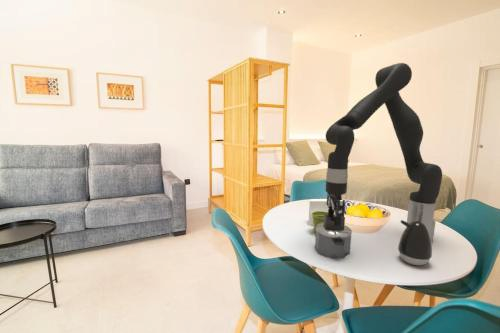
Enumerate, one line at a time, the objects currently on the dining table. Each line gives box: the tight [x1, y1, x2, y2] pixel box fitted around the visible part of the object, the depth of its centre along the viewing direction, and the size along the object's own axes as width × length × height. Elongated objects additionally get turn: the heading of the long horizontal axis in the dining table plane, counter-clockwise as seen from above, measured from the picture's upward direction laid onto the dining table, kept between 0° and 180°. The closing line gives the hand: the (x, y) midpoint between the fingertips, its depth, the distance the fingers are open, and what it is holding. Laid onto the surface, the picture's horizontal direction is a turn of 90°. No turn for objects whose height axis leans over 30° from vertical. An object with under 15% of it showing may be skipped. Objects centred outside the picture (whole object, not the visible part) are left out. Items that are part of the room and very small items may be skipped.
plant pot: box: [312, 211, 328, 234], centre depth 118 cm, size 9×9×9 cm
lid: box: [316, 214, 352, 238], centre depth 100 cm, size 13×13×6 cm
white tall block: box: [308, 198, 329, 227], centre depth 129 cm, size 9×9×12 cm
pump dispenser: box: [397, 219, 433, 266], centre depth 93 cm, size 10×10×15 cm
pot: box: [314, 231, 352, 259], centre depth 101 cm, size 12×17×8 cm
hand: (333, 221), depth 100 cm, fingers open, 8 cm apart
